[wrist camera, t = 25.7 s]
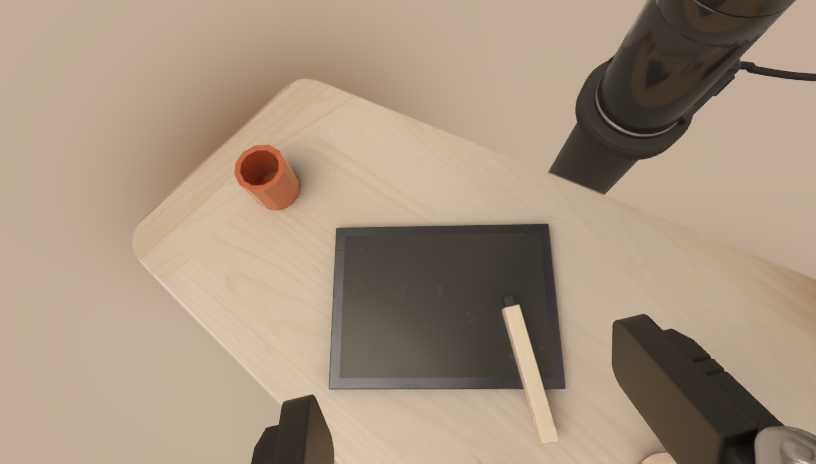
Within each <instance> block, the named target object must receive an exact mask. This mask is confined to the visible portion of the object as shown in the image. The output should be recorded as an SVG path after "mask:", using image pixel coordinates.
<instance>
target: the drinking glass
mask: <svg viewBox="0 0 816 464" xmlns="http://www.w3.org/2000/svg"><path fill="white" fill-rule="evenodd" d="M641 464H677V463H676V462H675V461H674V459H673V458H672V457H671V455H670V454H669V453H656V454H653V455H651V456H649V457H647V458H646V459H645V460H644V461H643V462H642V463H641Z"/></svg>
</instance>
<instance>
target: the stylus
mask: <svg viewBox="0 0 816 464" xmlns="http://www.w3.org/2000/svg"><path fill="white" fill-rule="evenodd" d="M502 300H503V303H504V307H505V308H504V309H502V313H503V317H504V320H505V324H506V327H507V331H508V334H509V338H510V342H511V345H512V349H513V352H514V356H515V359H516V363H517V367H518V370H519V374H520V377H521V381H522V385H523V388H524V392H525V395H526V399H527V402H528V406H529V410H530V413H531V417H532V420H533V424H534V427H535V431H536V435H537V438H538V442H539V443H541V444H542V445H544V444H548V443H553V442H557V441H559V439H558V435H557V432H556V428H555V425H554V421H553V418H552V415H551V411H550V408H549V404H548V401H547V398H546V394H545V391H544V387H543V384H542V380H541V377H540V374H539V370H538V367H537V363H536V360H535V357H534V353H533V350H532V346H531V343H530V339H529V336H528V333H527V329H526V326H525V322H524V319H523V316H522V312H521V309H520V305H515V302H514V298H513V296H507V297H504V298H503V299H502Z"/></svg>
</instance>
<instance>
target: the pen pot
mask: <svg viewBox="0 0 816 464" xmlns="http://www.w3.org/2000/svg"><path fill="white" fill-rule="evenodd" d="M234 174H235V177H236V179H237V181H238V183H239V185H240V186H241V187H242V188H243V189H244V190H245V191H246V192H248V193H249V194H250V195H251V196H252V197H253V198H254V199H255V200H256V201H257V202H258V203H259V204H261V205H262V206H263V207H265V208H267V209H271V210H280V209H283V208H286V207H288V206H289V205H291V204H292V203H293V202H294V201H295V199H296V198H297V196H298V194H299V190H300V184H299V180H298V178H297V177H296V175H295V173H294V171H293V170H292V169H291V167H290V166H289V164H288V163H287V161H286V160H285V158H284V157H283V156H282V154H281V153H280V151H279V150H277V149H275V148H273V147H271V146H269V145H256V146H253V147H252V148H250V149H248V150H246V151H244V152H243V153H242V154H241V156H240V157H239V159H238V160H237V161H236V165H235V173H234Z"/></svg>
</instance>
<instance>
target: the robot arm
mask: <svg viewBox="0 0 816 464" xmlns="http://www.w3.org/2000/svg"><path fill="white" fill-rule="evenodd" d="M795 1H796V0H646V2H645V4H644V6H643V7H642V9H641V11H640V12H639V14H638V16H637V18H636V19H635V21H634V23H633V25H632V26H631V28H630V30H629V32H628V33H627V35H626V37H625V38H624V40H623V42H622V44H621V46H620V47H619V49H618V51H617V52H616V54H615V55H614V56H613V57H612V58H610V59H609V61H608V63H607V64H606V65H608V64H609V63H610V62H611V63H610V64H609V66H608V68H607V70H606V71H605V73H604V74H603V75H602V77H601V78H600V80H599V82H598V83H597V85H596V88H595V91H594V105H595V108H596V111H597V113H598V115H599V117H600V118H601V119H602V121H603V122H604V123H605V124H606V125H607V126H608V127H610V128H611V129H612V130H614V131H615V132H617V133H619V134H621V135H624V136H627V137H630V138H636V139H650V138H655V137H658V136H661V135H663V134H665V133H667V132H668V131H669V130H671V129H672V128H673V127H674V126H675V125H684V124H685V123H686V122H687V121H688V120H689V119H690V118H691V117H692V116H693V115H694V114H695V113H696V112H697V111H698V110H699V109H700V108H701V107H702V106H703V105H704V104H705V103H706V102H707V101H708V100H709V99H710V98H711V97H712V96H717V95H718V94H719V93H720V92H721V91H722V90H723V89H724V88H725V87H726V86H727V85H728V84H729V83H730V82H731V81H732V80H733V79H734V78H735V76H734V75H735V73H737V72H738V70H739V69H745V70H747V71H748V72H750V73H754V74H760V75H766V76H772V77H779V78H785V79H794V80H806V81H816V74H809V73H797V72H788V71H781V70H774V69H768V68H763V67H758V66H756V65H755V64H754V63H751V62H740V57H741V56H742V55H743V54H744V53H745V52H746V51H747V50H748V49H749V48H750V47H751V46H752V45H753V44H754V43H755V42H756V41H757V40H758V39H759V38H760V37H761V36H762V35H763V34H764V33H765V32H766V30H767V29H768V28H769V27H770V26H771V25H772V24H773V23H774V22H775V21H776V20H777V19H778V18H779V17H780V16H781V15H782V14H783V13H784V12H785V11H786V10H787V9H788V8H789V7H790V6H791V5H792V4H793V3H794V2H795ZM612 367H613V371H614V374H615V377H616V379H617V381H618V383H619V385H620V387H621V388H622V390H623V391H624V392H625V394H626V395H627V396H628V398H629V399H630V400H631V402H632V403H633V405H634V406H635V407H636V409H637V410H638V411H639V413H640V414H641V416H642V417H643V418H644V420H645V421H646V422H647V424H648V425H649V427H650V428H651V429H652V431H653V432H654V433H655V435H656V436H657V437H658V439H659V440H660V442H661V443H662V444H663V446H664V447H665V448H666V450H667V451H668V453H669V454H670V455H671V457H672V458H673V459H674V461H675V462H676V463H677V464H816V435H814V434H812V433H809V432H807V431H804V430H801V429H798V428H794V427H788V426H784V425H783V424H782V423H781V422H780V421H779V420H777V419H776V418H775V417H774V416H773V415H772V414H771V413H770V412H769V411H768V410H767V409H766V408H765V407H764V406H763V405H762V404H761V403H760V402H759V401H757V400H756V399H755V398H754V397H753V396H752V395H751V394H750V393H749V392H748V391H747V390H746V389H745V388H744V387H743V386H742V385H741V384H740V383H738V382H737V381H736V380H735V379H734V378H733V377H732V376H731V375H730V374H729V373H728V372H725V371H724V368H723V367H722V366H721V365H719V364H718V363H717V362H716V361H715V360H714V359H711V358H710V355H709V354H708V353H707V352H706V351H705V350H704V349H703V348H702V347H700V346H699V345H698V344H697V343H696V342H695V341H694V340H693V339H691V338H689V337H687V336H685V335H683V334H681V333H679V332H677V331H675V330H673V329H668V330H664V331H663V330H662V329H661V328H660V327H659V326H658V325H657V324H656V323H655V322H654V321H653V320H652V319H651V318H650V317H649V316H647V315H645V314H641V315H637V316H633V317H629V318H625V319H621V320H616V321H614V323H613V334H612ZM251 464H334V447H333V441H332V437H331V433H330V431H329V428H328V426H327V424H326V421H325V419H324V416H323V414H322V412H321V409H320V407H319V405H318V402H317V400H316V398H315V396H314V395H313V394H312V395H308V396H304V397H300V398H296V399H292V400H287V401H284V402H283V404H282V409H281V415H280V421H279V425H276V426H271V427H268V428H266V429H265V431H264V432H263V434H262V436H261V438H260V440H259V441H258V443H257V444H256V446H255V448H254V452H253V457H252V462H251Z"/></svg>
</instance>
